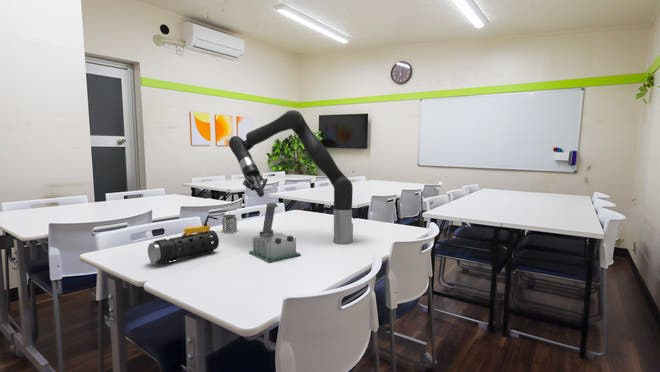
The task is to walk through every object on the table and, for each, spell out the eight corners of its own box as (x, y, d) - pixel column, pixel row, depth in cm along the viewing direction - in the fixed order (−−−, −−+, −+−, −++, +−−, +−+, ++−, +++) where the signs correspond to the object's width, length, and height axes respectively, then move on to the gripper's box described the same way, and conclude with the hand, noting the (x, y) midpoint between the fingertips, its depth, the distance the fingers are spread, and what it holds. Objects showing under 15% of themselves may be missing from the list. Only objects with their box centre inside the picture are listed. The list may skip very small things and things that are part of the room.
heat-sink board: (279, 247, 172) (279, 227, 171) (301, 256, 158) (301, 235, 157) (249, 253, 162) (248, 232, 161) (269, 263, 148) (269, 240, 147)
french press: (229, 235, 195) (227, 190, 192) (215, 232, 201) (213, 189, 198) (242, 232, 203) (241, 188, 200) (228, 229, 209) (227, 187, 207)
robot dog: (220, 241, 183) (220, 215, 182) (184, 246, 172) (183, 219, 171) (217, 238, 188) (216, 213, 186) (181, 243, 177) (180, 217, 176)
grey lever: (272, 235, 164) (269, 232, 166) (277, 205, 159) (274, 202, 161) (265, 237, 162) (261, 234, 164) (270, 206, 156) (266, 203, 158)
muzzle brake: (219, 253, 162) (219, 231, 161) (158, 269, 140) (157, 243, 139) (207, 249, 168) (207, 228, 166) (147, 264, 146) (146, 239, 145)
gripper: (239, 163, 168) (251, 191, 159) (263, 163, 176) (277, 189, 168) (234, 174, 172) (246, 202, 164) (258, 173, 181) (271, 199, 172)
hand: (261, 195), depth 166 cm, fingers closed
